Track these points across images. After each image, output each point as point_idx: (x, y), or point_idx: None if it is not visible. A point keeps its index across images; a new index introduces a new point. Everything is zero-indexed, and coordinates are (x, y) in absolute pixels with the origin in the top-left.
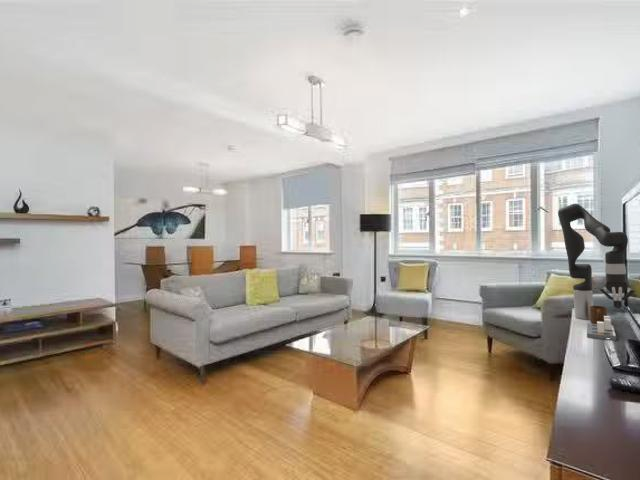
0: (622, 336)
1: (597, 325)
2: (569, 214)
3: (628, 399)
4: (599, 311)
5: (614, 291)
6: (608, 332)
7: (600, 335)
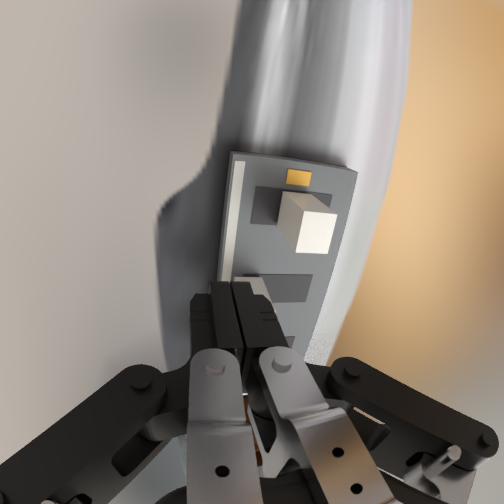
0: (189, 252)
1: (328, 207)
2: None
3: None
4: None
5: (349, 496)
6: (254, 232)
7: (302, 161)
